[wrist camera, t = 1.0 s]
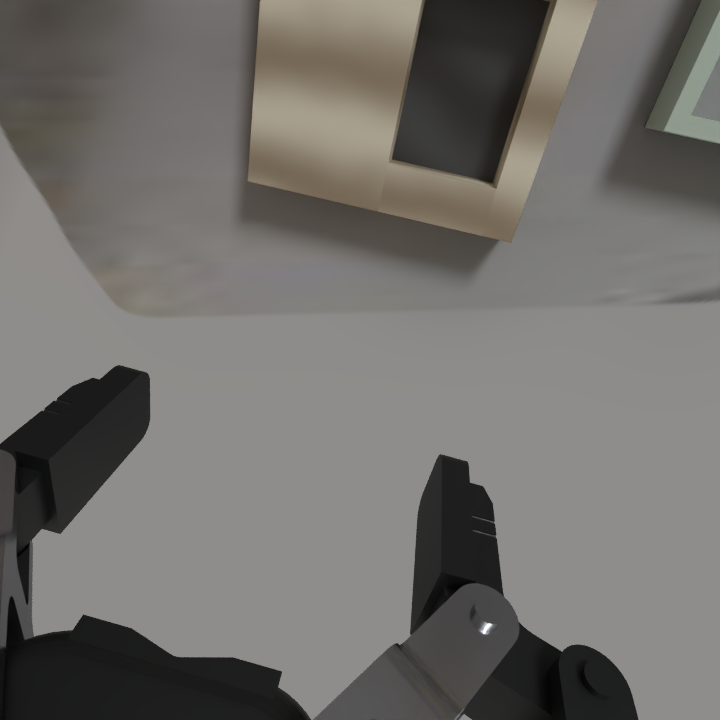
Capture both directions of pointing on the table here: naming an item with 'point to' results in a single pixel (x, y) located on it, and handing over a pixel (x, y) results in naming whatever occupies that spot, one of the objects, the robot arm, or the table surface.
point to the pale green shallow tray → (690, 79)
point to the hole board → (413, 103)
